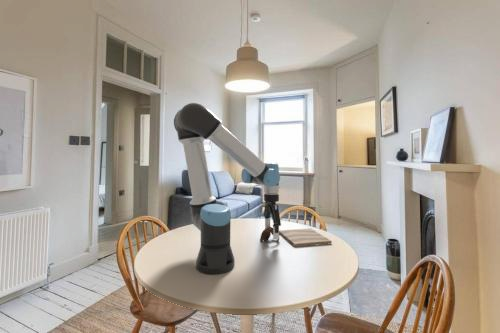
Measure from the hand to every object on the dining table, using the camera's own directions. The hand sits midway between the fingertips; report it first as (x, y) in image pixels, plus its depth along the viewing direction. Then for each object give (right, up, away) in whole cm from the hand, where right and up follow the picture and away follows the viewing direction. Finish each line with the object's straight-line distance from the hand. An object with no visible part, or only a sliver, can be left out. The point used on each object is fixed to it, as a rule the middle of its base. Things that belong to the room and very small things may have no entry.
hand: (271, 234), depth 122 cm
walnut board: (+18, -4, +6) cm, 19 cm away
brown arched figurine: (-1, -4, +1) cm, 4 cm away
